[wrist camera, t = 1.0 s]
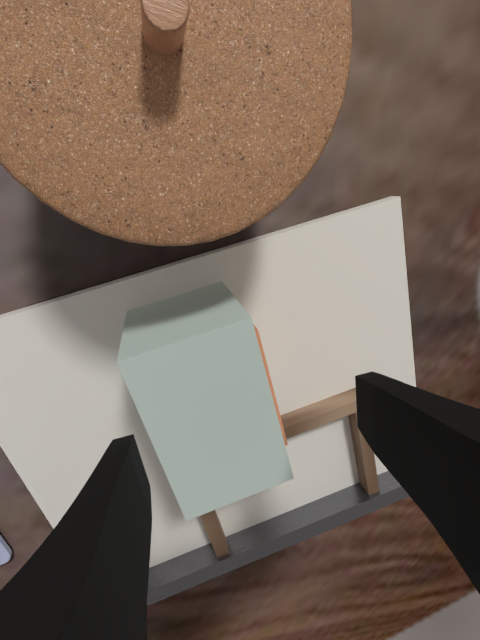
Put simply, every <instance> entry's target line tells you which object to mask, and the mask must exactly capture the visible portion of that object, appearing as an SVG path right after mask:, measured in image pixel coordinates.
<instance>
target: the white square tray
mask: <svg viewBox="0 0 480 640" xmlns="http://www.w3.org/2000/svg"><path fill="white" fill-rule="evenodd" d="M221 281H222V282H223V283H224V284H225V286H226V287H227V288H228V289H229V291H230V292H231V293H232V294H233V295H234V297H235V298H236V299H237V300H238V302H239V303H240V304H241V305H242V307H243V308H244V309H245V310H246V311H247V313H248V314H249V315H250V316H251V318H252V321H253V324H254V325H255V327H256V328H257V329H258V331H259V335H260V339H261V343H262V347H263V351H264V355H265V358H266V362H267V366H268V370H269V374H270V378H271V382H272V385H273V389H274V393H275V397H276V401H277V405H278V409H279V412H280V416H281V420H282V424H283V428H284V432H285V436H286V439H287V443H288V445H286V446H285V447H286V450H287V454H288V458H289V462H290V466H291V469H292V473H293V477H294V479H292V480H289V481H287V482H284V483H282V484H279V485H276V486H274V487H271V488H269V489H266V490H264V491H261V492H259V493H256V494H254V495H251V496H249V497H246V498H244V499H241V500H239V501H236V502H234V503H231V504H228V505H226V506H223V507H221V508H218V509H216V510H213V511H211V512H208V513H206V514H203V515H201V516H198V517H196V518H193V519H191V520H188V521H186V520H185V517H184V515H183V513H182V510H181V508H180V506H179V504H178V501H177V499H176V497H175V494H174V492H173V490H172V488H171V485H170V483H169V481H168V479H167V476H166V474H165V472H164V469H163V467H162V465H161V463H160V460H159V458H158V456H157V453H156V451H155V449H154V447H153V444H152V442H151V440H150V438H149V435H148V433H147V431H146V428H145V426H144V424H143V422H142V419H141V417H140V415H139V412H138V410H137V408H136V406H135V403H134V401H133V399H132V396H131V394H130V392H129V390H128V387H127V385H126V383H125V381H124V378H123V376H122V374H121V371H120V369H119V367H118V365H117V358H118V353H119V348H120V343H121V338H122V333H123V328H124V323H125V318H126V313H127V311H129V310H132V309H135V308H138V307H141V306H145V305H148V304H151V303H154V302H157V301H160V300H164V299H167V298H170V297H173V296H176V295H179V294H183V293H186V292H189V291H192V290H195V289H198V288H202V287H205V286H208V285H211V284H214V283H217V282H221ZM368 372H376V373H379V374H382V375H385V376H388V377H390V378H393V379H396V380H398V381H401V382H404V383H406V384H409V385H411V386H414V387H416V380H415V368H414V356H413V344H412V332H411V320H410V308H409V296H408V284H407V271H406V259H405V247H404V235H403V223H402V211H401V199H400V196H390V197H387V198H384V199H380V200H377V201H374V202H371V203H367V204H364V205H361V206H357V207H354V208H351V209H347V210H344V211H341V212H338V213H334V214H331V215H328V216H324V217H321V218H318V219H315V220H311V221H308V222H305V223H301V224H298V225H295V226H291V227H288V228H285V229H282V230H278V231H275V232H272V233H268V234H265V235H262V236H258V237H255V238H252V239H249V240H245V241H242V242H239V243H235V244H232V245H229V246H226V247H222V248H219V249H216V250H212V251H209V252H206V253H202V254H199V255H196V256H193V257H189V258H186V259H183V260H179V261H176V262H173V263H170V264H166V265H163V266H160V267H156V268H153V269H150V270H146V271H143V272H140V273H137V274H133V275H130V276H127V277H123V278H120V279H117V280H113V281H110V282H107V283H104V284H100V285H97V286H94V287H90V288H87V289H84V290H81V291H77V292H74V293H71V294H67V295H64V296H61V297H57V298H54V299H51V300H48V301H44V302H41V303H38V304H34V305H31V306H28V307H24V308H21V309H18V310H15V311H11V312H8V313H5V314H1V315H0V446H1V448H2V449H3V451H4V452H5V454H6V456H7V457H8V459H9V460H10V462H11V463H12V465H13V467H14V468H15V470H16V471H17V473H18V474H19V476H20V477H21V479H22V481H23V482H24V484H25V485H26V487H27V488H28V490H29V491H30V493H31V495H32V496H33V498H34V499H35V501H36V502H37V504H38V505H39V507H40V509H41V510H42V512H43V513H44V515H45V516H46V518H47V519H48V521H49V523H50V524H51V526H52V527H53V529H54V528H55V527H56V526H57V524H58V523H59V521H60V520H61V519H62V517H63V516H64V514H65V513H66V512H67V510H68V509H69V507H70V506H71V505H72V503H73V502H74V500H75V499H76V497H77V496H78V494H79V493H80V491H81V490H82V488H83V486H84V485H85V483H86V482H87V480H88V479H89V477H90V476H91V474H92V472H93V471H94V469H95V468H96V466H97V464H98V463H99V461H100V459H101V458H102V456H103V454H104V453H105V451H106V449H107V448H108V446H109V445H110V443H111V442H112V440H113V439H117V438H121V437H125V436H128V435H132V434H134V437H135V440H136V443H137V447H138V450H139V453H140V456H141V459H142V462H143V465H144V468H145V471H146V474H147V477H148V480H149V483H150V489H151V506H152V530H151V547H150V562H149V577H148V593H147V606H149V605H151V604H154V603H156V602H158V601H161V600H163V599H166V598H168V597H170V596H173V595H175V594H177V593H180V592H182V591H185V590H187V589H189V588H192V587H194V586H197V585H199V584H201V583H204V582H206V581H208V580H211V579H213V578H216V577H218V576H220V575H223V574H225V573H228V572H230V571H232V570H235V569H237V568H239V567H242V566H244V565H247V564H249V563H251V562H254V561H256V560H259V559H261V558H263V557H266V556H268V555H270V554H273V553H275V552H278V551H280V550H282V549H285V548H287V547H290V546H292V545H294V544H297V543H299V542H301V541H304V540H306V539H309V538H311V537H313V536H316V535H318V534H320V533H323V532H325V531H328V530H330V529H332V528H335V527H337V526H340V525H342V524H344V523H347V522H349V521H351V520H354V519H356V518H359V517H361V516H363V515H366V514H368V513H371V512H373V511H375V510H378V509H380V508H382V507H385V506H387V505H390V504H392V503H394V502H397V501H399V500H402V499H404V498H406V497H409V495H408V493H407V492H406V491H405V490H404V489H403V487H402V486H401V485H400V484H399V483H398V481H397V480H396V479H395V478H394V477H393V476H392V474H391V473H390V472H389V471H388V470H387V468H386V467H385V466H384V465H383V463H382V462H381V461H380V460H379V459H378V457H377V456H376V455H375V454H374V452H373V451H372V449H371V448H370V446H369V445H368V443H367V442H366V440H365V438H364V437H363V435H362V434H361V432H360V430H359V429H358V427H357V406H356V385H355V376H357V375H360V374H364V373H368Z"/></svg>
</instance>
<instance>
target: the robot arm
mask: <svg viewBox="0 0 480 640" xmlns="http://www.w3.org/2000/svg"><path fill="white" fill-rule="evenodd" d="M355 385H356V406H357V427H358V429H359V430H360V432H361V434H362V435H363V437H364V438H365V440H366V442H367V443H368V445H369V446H370V448H371V449H372V451H373V452H374V454H375V455H376V456H377V457H378V459H379V460H380V461H381V462H382V463H383V465H384V466H385V467H386V468H387V470H388V471H389V472H390V473H391V474H392V476H393V477H394V478H395V479H396V480H397V481H398V483H399V484H400V485H401V486H402V487H403V489H404V490H405V491H406V492H407V493H408V495H409V496H410V497H411V498H412V499H413V501H414V502H415V503H416V504H417V505H418V506H419V508H420V509H421V510H422V511H423V513H424V514H425V515H426V516H427V518H428V519H429V520H430V522H431V523H432V524H433V526H434V527H435V528H436V530H437V531H438V533H439V534H440V536H441V537H442V539H443V540H444V541H445V543H446V544H447V546H448V547H449V549H450V550H451V552H452V553H453V554H454V556H455V557H456V559H457V560H458V562H459V563H460V565H461V566H462V568H463V569H464V571H465V573H466V574H467V576H468V577H469V579H470V580H471V582H472V583H473V585H474V586H475V588H476V589H477V591H478V592H479V594H480V409H478V408H475V407H471V406H468V405H465V404H462V403H459V402H456V401H453V400H450V399H447V398H444V397H441V396H438V395H435V394H433V393H430V392H427V391H425V390H422V389H419V388H417V387H414V386H411V385H409V384H406V383H404V382H401V381H398V380H396V379H393V378H390V377H388V376H385V375H382V374H379V373H376V372H368V373H364V374H360V375H357V376H355ZM151 530H152V506H151V489H150V483H149V480H148V477H147V474H146V471H145V468H144V465H143V462H142V459H141V456H140V453H139V450H138V447H137V443H136V440H135V437H134V434H132V435H128V436H125V437H121V438H117V439H113V440H112V442H111V443H110V445H109V446H108V448H107V449H106V451H105V453H104V454H103V456H102V458H101V459H100V461H99V463H98V464H97V466H96V468H95V469H94V471H93V472H92V474H91V476H90V477H89V479H88V480H87V482H86V483H85V485H84V486H83V488H82V490H81V491H80V493H79V494H78V496H77V497H76V499H75V500H74V502H73V503H72V505H71V506H70V507H69V509H68V510H67V512H66V513H65V514H64V516H63V517H62V519H61V520H60V521H59V523H58V524H57V526H56V527H55V528H54V530H53V531H52V532H51V533H50V535H49V536H48V537H47V538H46V540H45V541H44V542H43V543H42V545H41V546H40V547H39V548H38V549H37V551H36V552H35V553H34V554H33V555H32V557H31V558H30V559H29V560H28V561H27V562H26V564H25V565H24V566H23V567H22V568H21V569H20V570H19V571H18V573H17V574H16V575H15V576H14V577H13V578H12V579H11V580H10V581H9V582H8V583H7V584H6V585H5V586H4V587H3V589H2V590H1V591H0V640H147V627H146V617H147V593H148V577H149V562H150V547H151ZM11 555H12V550H11V549H10V547H9V546H8V545H7V543H6V542H5V540H4V539H3V538H2V536H1V535H0V565H2V564H5V563H6V562H8V561H9V560H10V558H11Z"/></svg>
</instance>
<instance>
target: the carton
mask: <svg viewBox="0 0 480 640" xmlns="http://www.w3.org/2000/svg"><path fill="white" fill-rule="evenodd" d="M117 365H118V367H119V369H120V371H121V374H122V376H123V378H124V381H125V383H126V385H127V387H128V390H129V392H130V394H131V396H132V399H133V401H134V403H135V406H136V408H137V410H138V412H139V415H140V417H141V419H142V422H143V424H144V426H145V428H146V431H147V433H148V435H149V438H150V440H151V442H152V444H153V447H154V449H155V451H156V453H157V456H158V458H159V460H160V463H161V465H162V467H163V469H164V472H165V474H166V476H167V479H168V481H169V483H170V485H171V488H172V490H173V492H174V494H175V497H176V499H177V501H178V504H179V506H180V508H181V510H182V513H183V515H184V517H185V520H186V521H188V520H191V519H193V518H196V517H198V516H201V515H203V514H206V513H208V512H211V511H213V510H216V509H218V508H221V507H223V506H226V505H228V504H231V503H234V502H236V501H239V500H241V499H244V498H246V497H249V496H251V495H254V494H256V493H259V492H261V491H264V490H266V489H269V488H271V487H274V486H276V485H279V484H282V483H284V482H287V481H289V480H292V479H294V477H293V473H292V469H291V466H290V462H289V458H288V454H287V450H286V447H285V446H286V445H288V443H287V439H286V436H285V432H284V428H283V424H282V420H281V416H280V412H279V409H278V405H277V401H276V397H275V393H274V389H273V385H272V382H271V378H270V374H269V370H268V366H267V362H266V358H265V355H264V351H263V347H262V343H261V339H260V335H259V331H258V329H257V328H256V327H255V325H254V324H253V321H252V318H251V316H250V315H249V314H248V313H247V311H246V310H245V309H244V308H243V307H242V305H241V304H240V303H239V302H238V300H237V299H236V298H235V297H234V295H233V294H232V293H231V292H230V291H229V289H228V288H227V287H226V286H225V284H224V283H223V282H222V281H221V282H217V283H214V284H211V285H208V286H205V287H202V288H198V289H195V290H192V291H189V292H186V293H183V294H179V295H176V296H173V297H170V298H167V299H164V300H160V301H157V302H154V303H151V304H148V305H145V306H141V307H138V308H135V309H132V310H129V311H127V313H126V318H125V323H124V328H123V333H122V338H121V343H120V348H119V353H118V358H117Z"/></svg>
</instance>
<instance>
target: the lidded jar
mask: <svg viewBox="0 0 480 640" xmlns="http://www.w3.org/2000/svg"><path fill="white" fill-rule="evenodd" d="M351 46H352V14H351V0H0V164H1V165H2V166H3V167H4V168H5V169H6V170H7V171H8V173H9V174H10V175H11V176H12V177H13V178H14V179H15V180H16V181H18V182H19V183H20V184H21V185H22V186H24V187H25V188H26V189H27V190H28V191H30V192H31V193H32V194H33V195H34V196H35V197H37V198H38V199H39V200H40V201H41V202H43V203H45V204H46V205H48V206H49V207H51V208H52V209H54V210H56V211H57V212H59V213H60V214H62V215H63V216H65V217H67V218H68V219H70V220H71V221H74V222H76V223H78V224H80V225H82V226H85V227H87V228H89V229H91V230H93V231H95V232H98V233H100V234H103V235H106V236H110V237H113V238H117V239H120V240H123V241H127V242H131V243H138V244H145V245H153V246H188V245H194V244H199V243H205V242H211V241H215V240H217V239H220V238H223V237H226V236H229V235H232V234H235V233H237V232H240V231H241V230H243V229H245V228H247V227H249V226H251V225H252V224H254V223H256V222H258V221H260V220H262V219H263V218H264V217H265V216H267V215H268V214H269V213H271V212H272V211H273V210H275V209H276V208H277V207H279V206H280V205H281V204H282V203H283V202H284V201H285V200H286V199H287V198H288V197H289V196H290V195H291V194H292V193H293V192H294V191H295V190H296V189H297V188H298V187H299V186H300V185H301V184H302V182H303V181H304V179H305V178H306V177H307V175H308V174H309V172H310V171H311V170H312V168H313V167H314V165H315V164H316V163H317V161H318V159H319V157H320V156H321V154H322V152H323V150H324V148H325V146H326V144H327V142H328V140H329V138H330V136H331V134H332V131H333V129H334V126H335V123H336V120H337V118H338V115H339V112H340V109H341V106H342V103H343V98H344V94H345V89H346V84H347V80H348V75H349V67H350V57H351Z"/></svg>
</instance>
